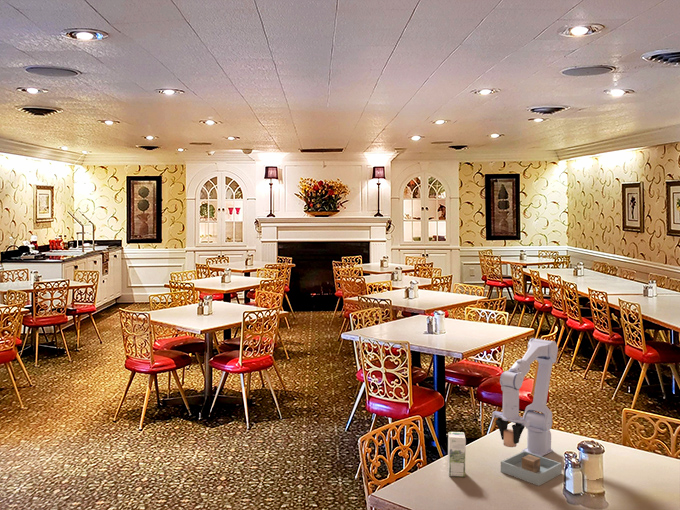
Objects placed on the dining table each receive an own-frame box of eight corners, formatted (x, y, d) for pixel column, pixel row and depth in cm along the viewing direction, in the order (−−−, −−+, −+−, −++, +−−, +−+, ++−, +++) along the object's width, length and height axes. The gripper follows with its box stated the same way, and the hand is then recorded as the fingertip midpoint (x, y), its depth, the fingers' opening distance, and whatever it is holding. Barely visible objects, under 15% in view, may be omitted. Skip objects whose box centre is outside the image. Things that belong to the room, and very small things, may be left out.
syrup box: (463, 470, 218) (464, 431, 217) (465, 477, 212) (465, 437, 211) (447, 470, 218) (448, 430, 217) (448, 477, 212) (449, 436, 212)
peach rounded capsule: (508, 441, 223) (508, 428, 223) (519, 445, 220) (519, 431, 220) (500, 444, 220) (501, 431, 220) (511, 448, 217) (512, 434, 217)
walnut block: (528, 466, 219) (528, 454, 219) (540, 470, 216) (540, 458, 215) (521, 470, 216) (521, 457, 216) (533, 474, 213) (533, 461, 212)
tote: (523, 460, 227) (524, 450, 227) (561, 473, 215) (561, 463, 215) (500, 471, 217) (500, 461, 217) (538, 485, 205) (538, 475, 205)
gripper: (487, 402, 222) (487, 438, 223) (522, 411, 211) (521, 449, 212) (498, 398, 227) (498, 433, 228) (533, 407, 216) (532, 444, 217)
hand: (510, 441), depth 220 cm, fingers closed on peach rounded capsule, 5 cm apart
